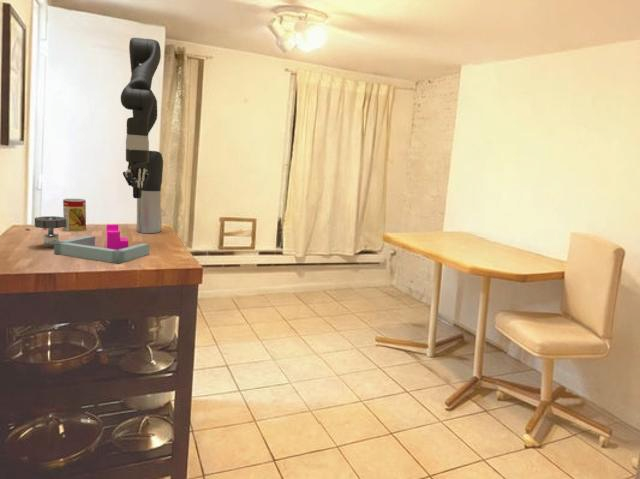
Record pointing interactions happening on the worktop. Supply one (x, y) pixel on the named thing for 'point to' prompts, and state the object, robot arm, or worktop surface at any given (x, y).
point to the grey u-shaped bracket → (99, 250)
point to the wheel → (50, 222)
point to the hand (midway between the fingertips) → (137, 198)
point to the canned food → (74, 214)
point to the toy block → (115, 238)
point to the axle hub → (50, 238)
